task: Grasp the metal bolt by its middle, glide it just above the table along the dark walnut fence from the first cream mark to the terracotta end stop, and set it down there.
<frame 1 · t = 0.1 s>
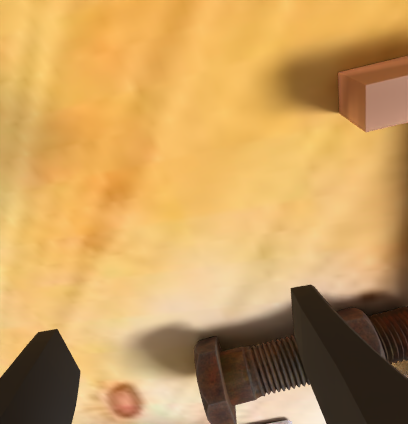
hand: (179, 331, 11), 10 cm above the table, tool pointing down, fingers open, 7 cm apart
bolt: (301, 328, 27), on the table
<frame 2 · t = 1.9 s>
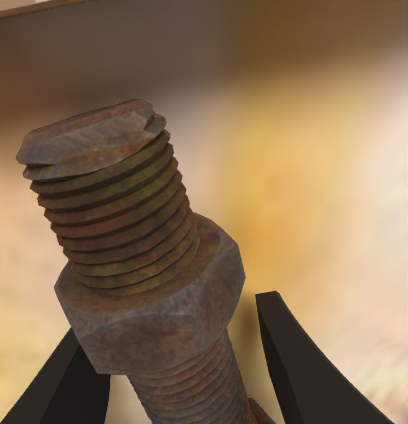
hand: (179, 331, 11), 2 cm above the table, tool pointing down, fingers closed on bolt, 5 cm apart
bolt: (183, 298, 13), on the table, touching gripper
when the fingers open (3 cm above the table, at t = 3.1 s): bolt stays where it is, on the table.
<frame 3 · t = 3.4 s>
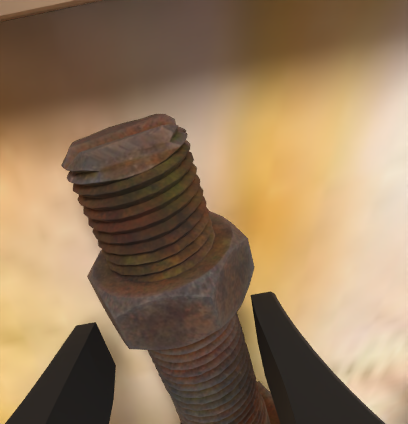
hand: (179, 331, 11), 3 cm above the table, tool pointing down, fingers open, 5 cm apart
bolt: (197, 289, 15), on the table, touching gripper
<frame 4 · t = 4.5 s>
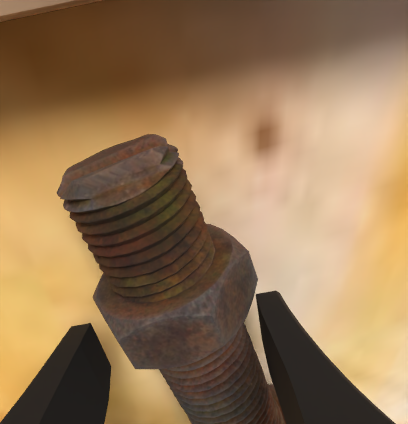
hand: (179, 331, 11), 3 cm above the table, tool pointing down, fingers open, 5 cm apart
bolt: (205, 299, 15), on the table, touching gripper
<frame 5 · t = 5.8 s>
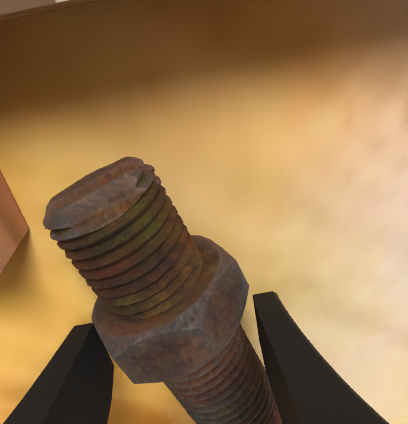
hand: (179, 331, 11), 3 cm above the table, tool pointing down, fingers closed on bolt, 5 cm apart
bolt: (207, 307, 15), on the table, touching gripper
when the fingers open (2 cm above the table, at t = 6.6 s): bolt stays where it is, on the table.
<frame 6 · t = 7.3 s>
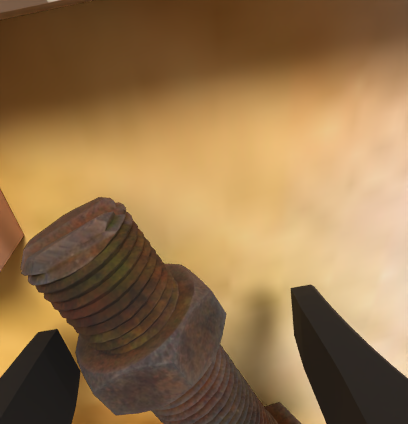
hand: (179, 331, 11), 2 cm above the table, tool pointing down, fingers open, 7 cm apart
bolt: (193, 328, 15), on the table
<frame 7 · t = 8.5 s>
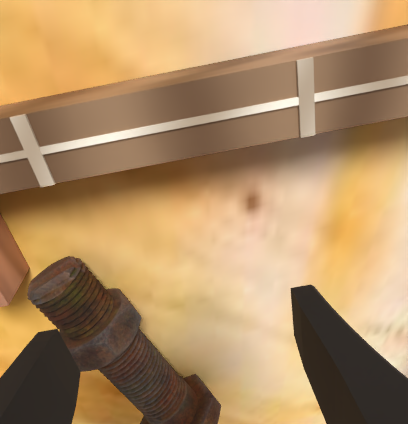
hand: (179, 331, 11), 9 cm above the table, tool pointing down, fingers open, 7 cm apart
bolt: (134, 326, 25), on the table
walnut fence: (201, 100, 17), on the table
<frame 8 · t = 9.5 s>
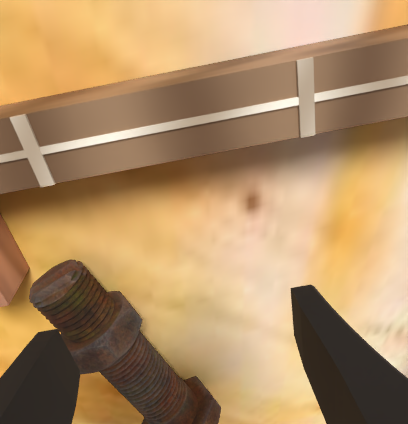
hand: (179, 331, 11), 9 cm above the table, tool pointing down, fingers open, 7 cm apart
bolt: (135, 328, 25), on the table
walnut fence: (201, 100, 17), on the table
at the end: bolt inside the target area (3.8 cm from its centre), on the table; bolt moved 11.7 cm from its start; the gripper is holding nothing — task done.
